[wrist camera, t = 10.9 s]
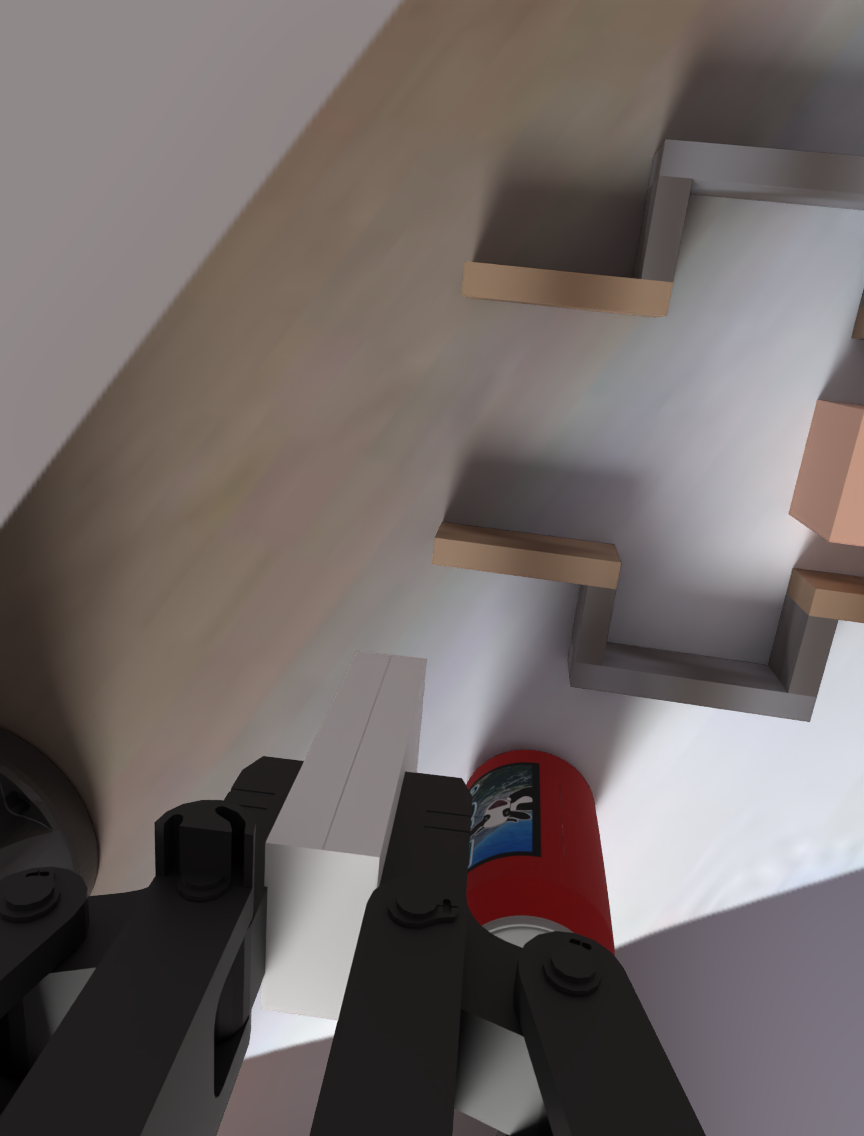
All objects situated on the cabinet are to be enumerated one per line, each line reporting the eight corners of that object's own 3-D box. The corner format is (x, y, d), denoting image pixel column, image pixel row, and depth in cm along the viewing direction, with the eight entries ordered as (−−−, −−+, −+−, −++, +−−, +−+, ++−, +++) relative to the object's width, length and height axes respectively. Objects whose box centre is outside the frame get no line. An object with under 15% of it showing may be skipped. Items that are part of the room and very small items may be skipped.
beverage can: (489, 721, 39) (471, 880, 28) (615, 769, 39) (650, 948, 27) (444, 828, 41) (411, 1016, 30) (564, 873, 41) (577, 1079, 30)
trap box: (428, 639, 38) (420, 664, 35) (484, 142, 32) (479, 123, 29) (907, 709, 36) (939, 741, 33) (1071, 194, 30) (1128, 178, 27)
